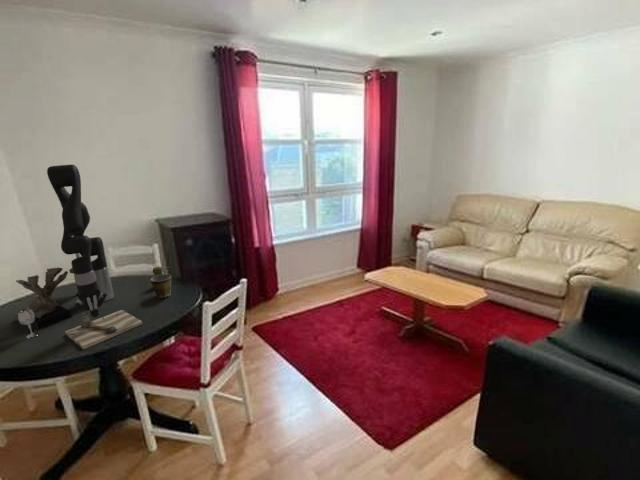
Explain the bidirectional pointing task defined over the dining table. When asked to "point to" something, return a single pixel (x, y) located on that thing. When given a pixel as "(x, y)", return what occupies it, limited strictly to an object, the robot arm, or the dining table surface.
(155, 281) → the ceramic cup
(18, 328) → the dining table surface
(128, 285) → the dining table surface
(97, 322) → the board
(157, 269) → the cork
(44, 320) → the coral
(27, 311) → the wineglass
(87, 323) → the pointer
